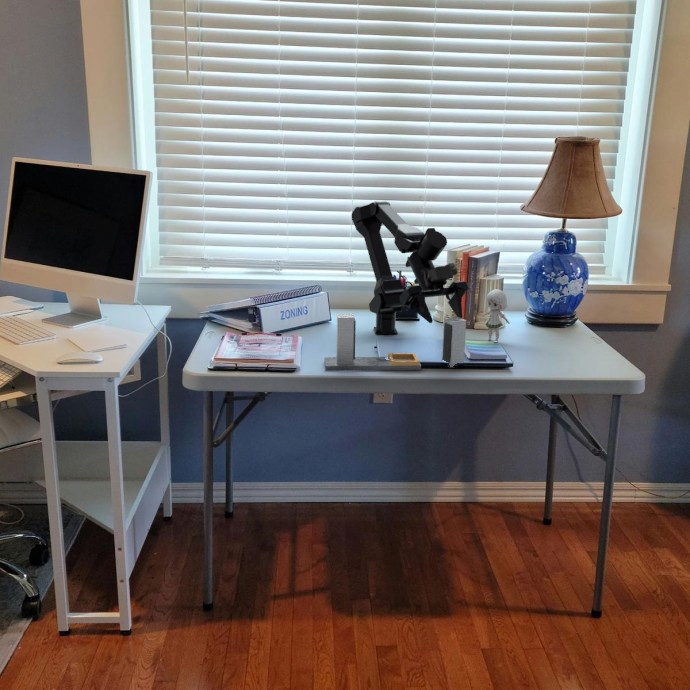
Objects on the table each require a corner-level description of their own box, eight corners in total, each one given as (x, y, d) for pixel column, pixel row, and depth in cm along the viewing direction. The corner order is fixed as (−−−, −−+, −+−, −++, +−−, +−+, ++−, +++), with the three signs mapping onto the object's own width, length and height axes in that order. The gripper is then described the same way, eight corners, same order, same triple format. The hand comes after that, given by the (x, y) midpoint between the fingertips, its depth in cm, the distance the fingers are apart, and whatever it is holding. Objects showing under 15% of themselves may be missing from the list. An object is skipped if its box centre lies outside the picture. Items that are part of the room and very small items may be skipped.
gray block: (441, 363, 201) (443, 318, 197) (454, 361, 202) (457, 316, 199) (450, 367, 197) (453, 322, 194) (463, 365, 199) (466, 320, 196)
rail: (324, 361, 200) (324, 312, 197) (416, 361, 202) (418, 312, 198) (325, 370, 193) (325, 319, 190) (420, 370, 195) (423, 319, 191)
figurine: (472, 338, 223) (476, 287, 219) (486, 335, 227) (490, 284, 222) (501, 347, 215) (505, 294, 211) (515, 343, 219) (519, 291, 215)
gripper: (406, 255, 196) (429, 307, 189) (467, 250, 204) (490, 299, 198) (390, 280, 205) (410, 330, 198) (448, 274, 213) (470, 322, 207)
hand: (446, 320), depth 200 cm, fingers open, 9 cm apart
